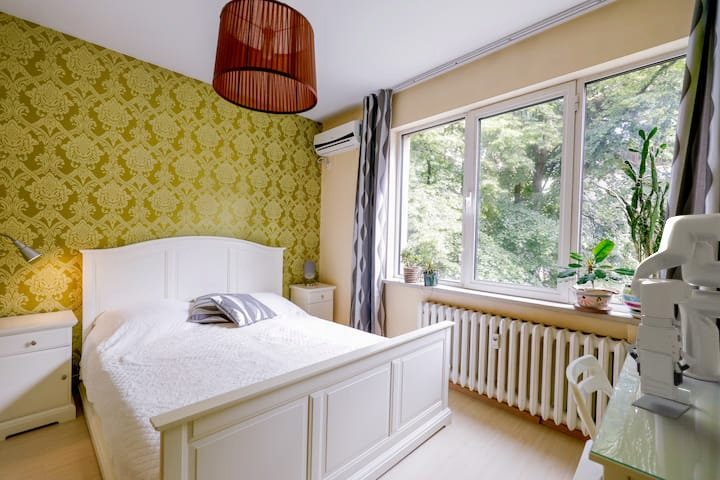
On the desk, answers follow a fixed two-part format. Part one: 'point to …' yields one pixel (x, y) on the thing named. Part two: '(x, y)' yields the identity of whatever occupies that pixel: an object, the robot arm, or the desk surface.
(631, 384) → the desk surface
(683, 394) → the frosted wall
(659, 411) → the charcoal mat
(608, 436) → the desk surface
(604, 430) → the desk surface
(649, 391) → the supplement box
